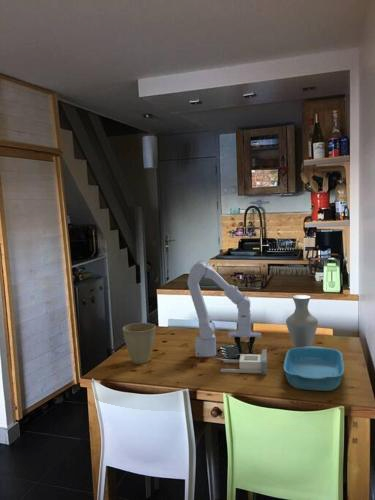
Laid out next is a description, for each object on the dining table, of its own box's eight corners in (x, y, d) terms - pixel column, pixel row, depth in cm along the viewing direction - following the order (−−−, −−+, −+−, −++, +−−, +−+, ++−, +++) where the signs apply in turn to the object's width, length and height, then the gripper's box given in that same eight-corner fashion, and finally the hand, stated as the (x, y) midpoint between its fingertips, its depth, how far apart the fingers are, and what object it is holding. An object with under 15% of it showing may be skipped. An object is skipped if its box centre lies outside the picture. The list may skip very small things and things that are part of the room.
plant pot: (147, 368, 190) (144, 333, 188) (118, 364, 196) (116, 330, 194) (163, 357, 203) (161, 323, 201) (135, 353, 209) (133, 321, 208)
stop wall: (261, 375, 175) (261, 361, 174) (262, 361, 189) (261, 349, 189) (266, 375, 174) (266, 361, 174) (267, 361, 189) (266, 349, 189)
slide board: (217, 376, 178) (217, 371, 178) (221, 362, 193) (221, 357, 193) (267, 377, 174) (267, 372, 174) (267, 363, 190) (267, 358, 189)
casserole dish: (288, 359, 194) (288, 343, 193) (341, 362, 188) (341, 345, 187) (281, 394, 159) (280, 375, 158) (346, 399, 153) (346, 380, 152)
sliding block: (239, 371, 179) (239, 361, 179) (241, 363, 188) (240, 354, 188) (261, 371, 178) (261, 362, 177) (262, 363, 187) (261, 354, 186)
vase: (315, 343, 213) (314, 293, 210) (321, 353, 198) (320, 299, 196) (284, 343, 214) (283, 293, 211) (288, 353, 200) (287, 300, 197)
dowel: (240, 357, 197) (240, 342, 196) (241, 354, 201) (240, 340, 200) (249, 358, 196) (249, 343, 195) (250, 355, 200) (249, 340, 199)
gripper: (227, 326, 194) (228, 355, 196) (260, 326, 191) (261, 356, 193) (228, 321, 201) (229, 350, 202) (260, 322, 198) (261, 351, 200)
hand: (245, 353), depth 198 cm, fingers closed on dowel, 4 cm apart
